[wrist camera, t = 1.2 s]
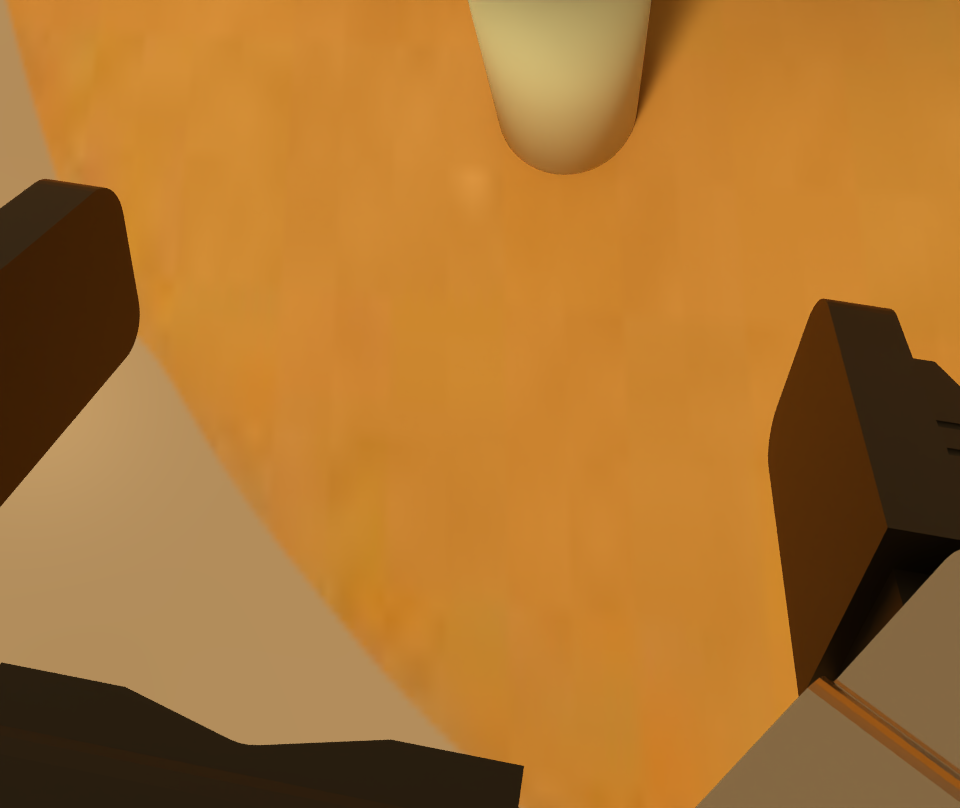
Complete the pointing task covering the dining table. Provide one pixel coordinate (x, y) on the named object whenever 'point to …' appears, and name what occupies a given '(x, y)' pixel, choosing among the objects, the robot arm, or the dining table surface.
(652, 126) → the dining table surface
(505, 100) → the salt mill
